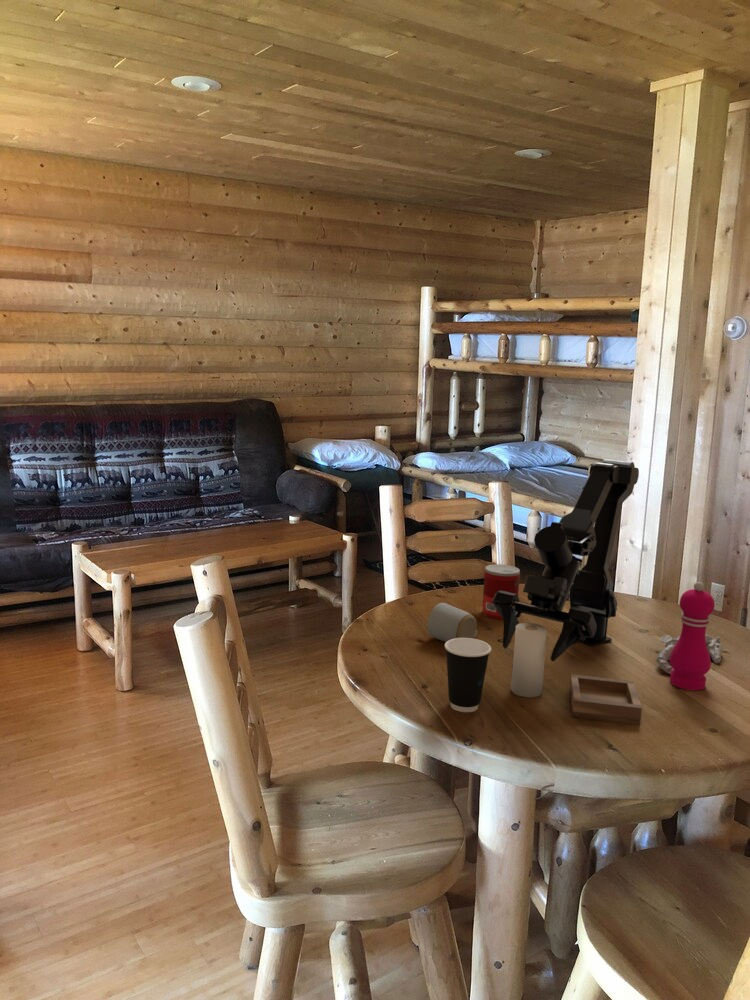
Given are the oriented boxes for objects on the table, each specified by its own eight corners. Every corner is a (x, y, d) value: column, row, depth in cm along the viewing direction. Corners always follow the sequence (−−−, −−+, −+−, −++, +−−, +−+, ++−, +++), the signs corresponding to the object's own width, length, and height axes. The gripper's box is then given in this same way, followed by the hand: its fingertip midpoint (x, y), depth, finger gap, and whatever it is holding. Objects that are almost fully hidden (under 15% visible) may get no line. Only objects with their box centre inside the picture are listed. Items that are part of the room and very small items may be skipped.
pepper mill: (660, 675, 154) (671, 576, 150) (696, 675, 154) (708, 576, 150) (677, 692, 147) (689, 588, 143) (715, 692, 147) (728, 588, 143)
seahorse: (706, 681, 150) (734, 637, 165) (650, 648, 155) (682, 608, 170) (695, 701, 152) (723, 656, 167) (639, 667, 157) (672, 627, 172)
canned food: (519, 620, 182) (522, 574, 179) (484, 619, 182) (487, 572, 180) (513, 609, 189) (517, 564, 187) (480, 608, 189) (483, 563, 187)
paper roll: (527, 682, 149) (532, 620, 146) (548, 693, 144) (553, 630, 142) (504, 687, 146) (509, 625, 143) (524, 699, 141) (529, 635, 139)
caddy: (569, 689, 146) (570, 674, 145) (631, 696, 144) (633, 681, 143) (572, 716, 135) (573, 700, 135) (639, 724, 133) (641, 708, 133)
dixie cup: (435, 697, 141) (438, 638, 138) (477, 694, 143) (480, 636, 141) (450, 718, 133) (454, 656, 131) (494, 714, 135) (498, 653, 133)
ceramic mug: (457, 652, 162) (460, 616, 160) (425, 641, 167) (427, 606, 166) (486, 639, 170) (488, 605, 168) (454, 629, 175) (456, 595, 174)
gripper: (500, 548, 149) (468, 620, 142) (597, 567, 139) (568, 645, 132) (515, 580, 157) (485, 649, 150) (608, 600, 147) (581, 675, 140)
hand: (527, 653), depth 143 cm, fingers open, 9 cm apart
